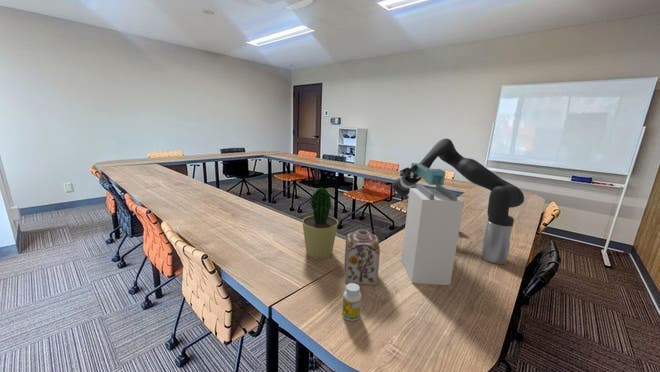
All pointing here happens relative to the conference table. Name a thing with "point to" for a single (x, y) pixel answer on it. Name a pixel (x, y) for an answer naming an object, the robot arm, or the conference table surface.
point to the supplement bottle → (351, 302)
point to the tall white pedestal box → (431, 234)
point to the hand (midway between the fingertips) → (420, 167)
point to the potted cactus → (320, 226)
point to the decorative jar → (361, 258)
